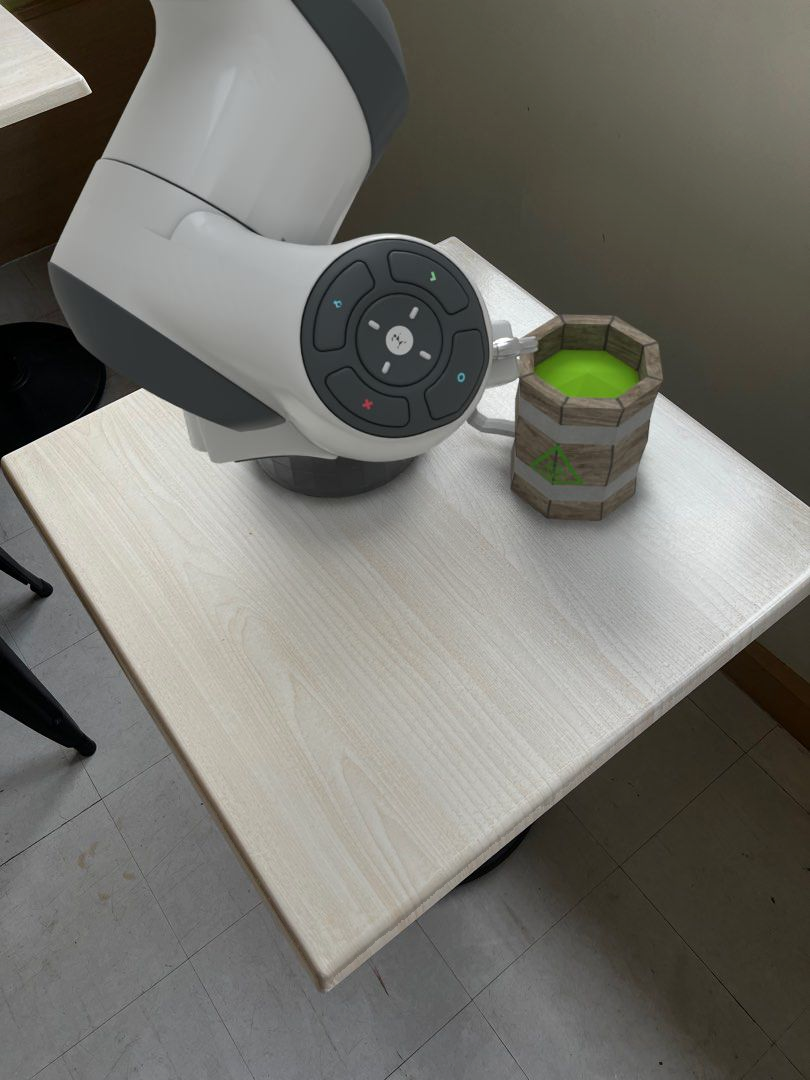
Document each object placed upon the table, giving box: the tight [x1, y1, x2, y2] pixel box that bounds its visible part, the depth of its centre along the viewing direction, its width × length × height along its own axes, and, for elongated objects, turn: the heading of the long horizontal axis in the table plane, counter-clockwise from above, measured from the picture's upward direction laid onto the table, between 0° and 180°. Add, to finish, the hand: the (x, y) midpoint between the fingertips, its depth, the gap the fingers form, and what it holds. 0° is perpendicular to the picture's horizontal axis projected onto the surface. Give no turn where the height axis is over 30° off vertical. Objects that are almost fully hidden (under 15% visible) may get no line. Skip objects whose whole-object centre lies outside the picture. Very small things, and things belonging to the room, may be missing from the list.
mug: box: [465, 314, 664, 521], centre depth 69 cm, size 16×11×12 cm
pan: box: [257, 455, 414, 498], centre depth 75 cm, size 15×15×5 cm
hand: (342, 390), depth 60 cm, fingers open, 8 cm apart
